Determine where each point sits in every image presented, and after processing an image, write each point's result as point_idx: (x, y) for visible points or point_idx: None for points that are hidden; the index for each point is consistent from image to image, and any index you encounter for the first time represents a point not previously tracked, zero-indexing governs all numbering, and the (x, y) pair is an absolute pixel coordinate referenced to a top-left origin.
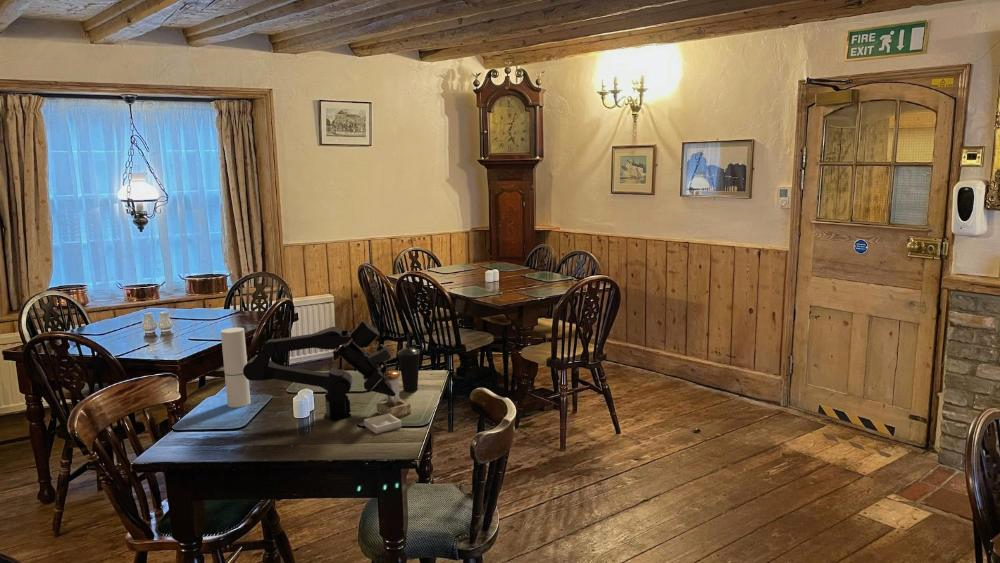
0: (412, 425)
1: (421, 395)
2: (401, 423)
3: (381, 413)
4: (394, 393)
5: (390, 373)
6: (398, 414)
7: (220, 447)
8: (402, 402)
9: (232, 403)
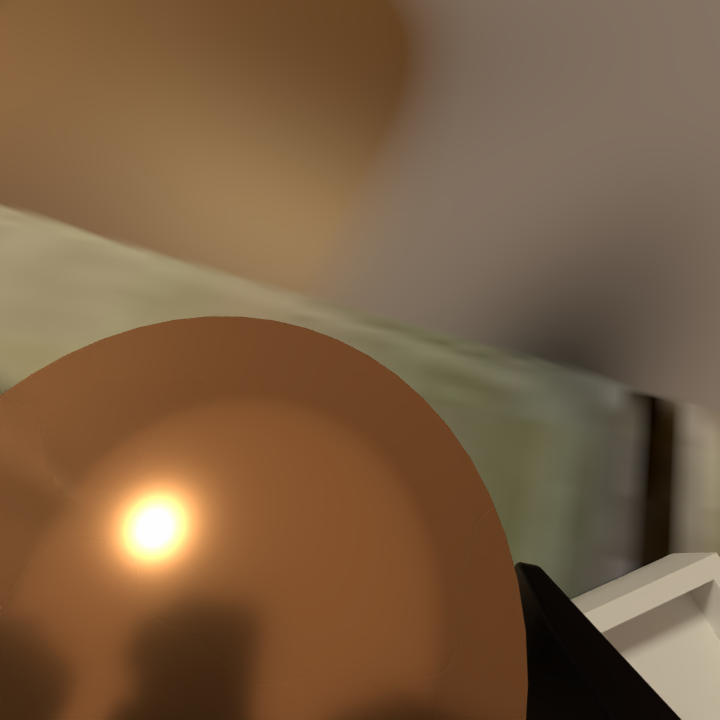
0: (634, 463)
1: (19, 294)
2: (697, 553)
3: None
4: (554, 586)
5: (251, 690)
6: None
7: None
8: None
9: None
